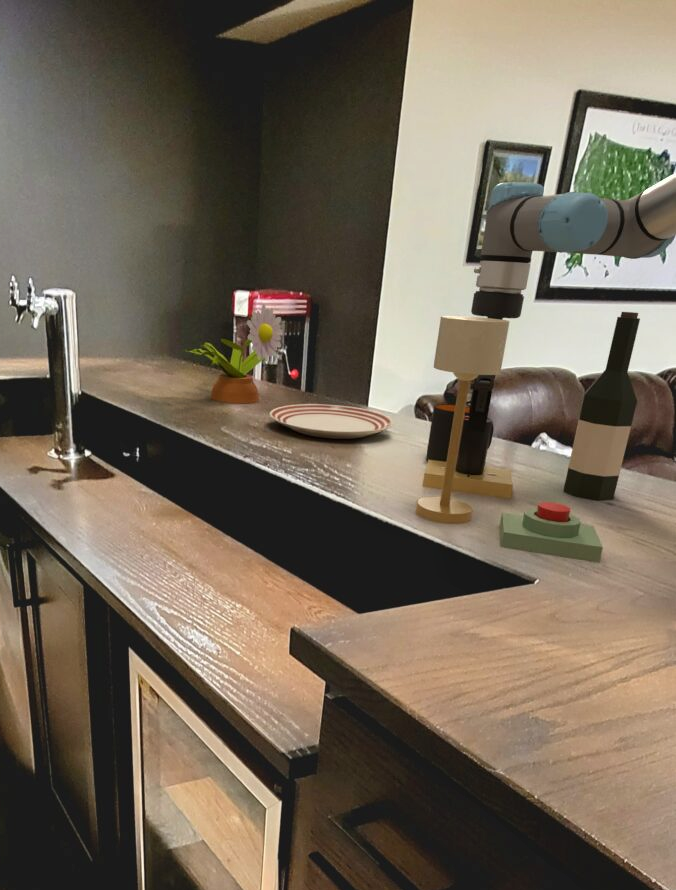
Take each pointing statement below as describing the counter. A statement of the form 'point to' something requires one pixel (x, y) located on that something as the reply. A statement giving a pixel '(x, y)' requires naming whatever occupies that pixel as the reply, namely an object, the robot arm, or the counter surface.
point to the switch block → (550, 536)
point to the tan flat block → (471, 480)
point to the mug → (443, 431)
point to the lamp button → (553, 512)
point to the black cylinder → (473, 449)
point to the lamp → (462, 395)
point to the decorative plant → (234, 381)
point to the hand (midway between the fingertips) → (476, 423)
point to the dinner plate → (331, 420)
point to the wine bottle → (605, 421)
